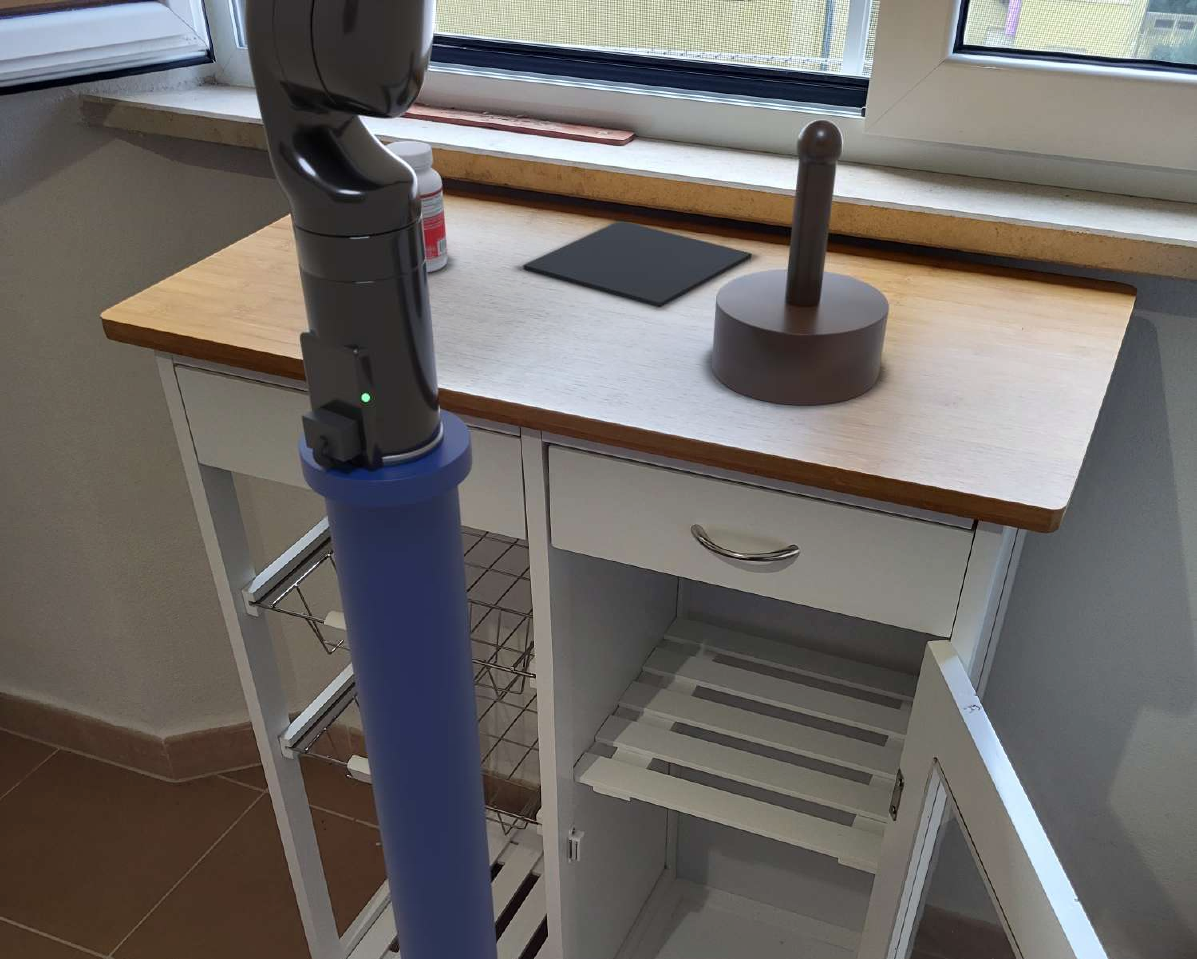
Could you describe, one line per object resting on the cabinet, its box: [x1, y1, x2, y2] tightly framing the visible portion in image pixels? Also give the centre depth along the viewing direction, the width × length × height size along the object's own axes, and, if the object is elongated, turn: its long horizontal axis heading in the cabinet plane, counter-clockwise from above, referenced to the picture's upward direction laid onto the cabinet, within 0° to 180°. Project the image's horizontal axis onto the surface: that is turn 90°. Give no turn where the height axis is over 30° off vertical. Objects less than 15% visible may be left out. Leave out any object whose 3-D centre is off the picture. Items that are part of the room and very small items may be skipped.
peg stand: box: [711, 118, 890, 406], centre depth 102 cm, size 15×15×20 cm
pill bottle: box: [384, 140, 448, 273], centre depth 123 cm, size 6×6×11 cm
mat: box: [522, 220, 753, 308], centre depth 127 cm, size 17×17×1 cm
